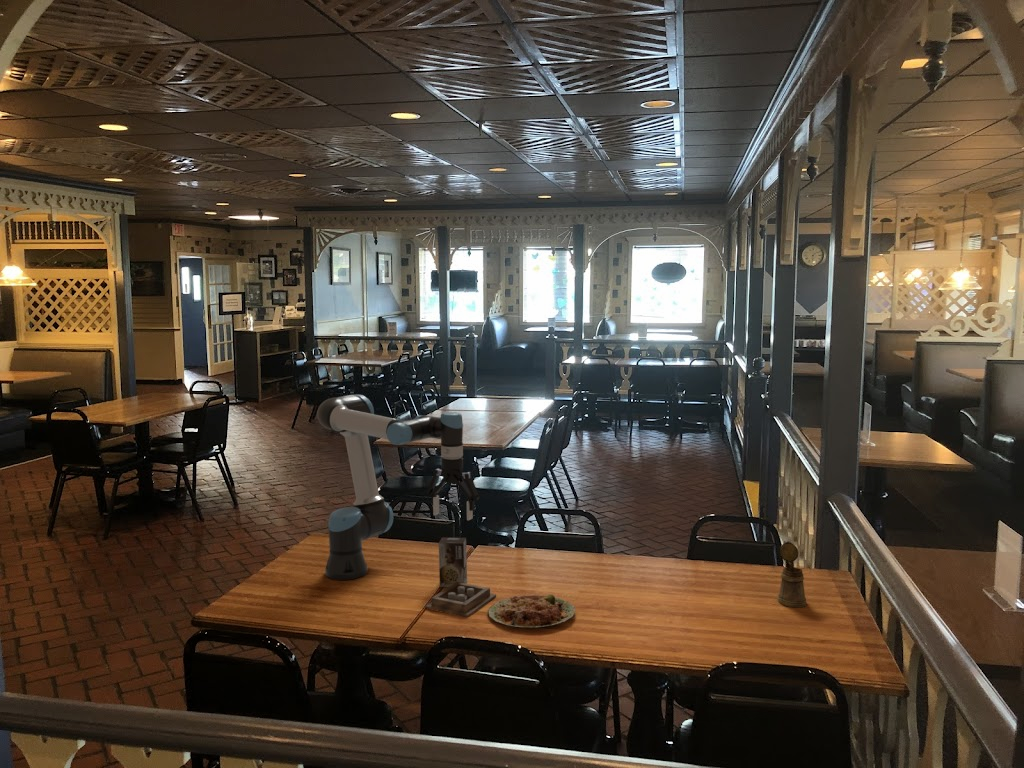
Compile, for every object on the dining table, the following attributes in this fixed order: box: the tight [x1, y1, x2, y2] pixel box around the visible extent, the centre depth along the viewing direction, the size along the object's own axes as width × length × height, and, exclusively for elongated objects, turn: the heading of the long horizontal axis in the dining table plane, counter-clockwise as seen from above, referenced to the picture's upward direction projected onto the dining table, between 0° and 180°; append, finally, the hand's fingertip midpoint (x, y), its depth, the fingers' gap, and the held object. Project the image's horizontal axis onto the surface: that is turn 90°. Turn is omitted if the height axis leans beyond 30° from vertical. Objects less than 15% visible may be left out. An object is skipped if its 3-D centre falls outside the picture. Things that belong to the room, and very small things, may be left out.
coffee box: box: [438, 537, 468, 588], centre depth 278 cm, size 9×6×16 cm
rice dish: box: [487, 594, 576, 628], centre depth 252 cm, size 28×28×5 cm
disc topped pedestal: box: [777, 540, 808, 608], centre depth 262 cm, size 9×14×18 cm, turn 172°
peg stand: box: [424, 582, 497, 618], centre depth 262 cm, size 16×19×4 cm
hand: (452, 517), depth 276 cm, fingers open, 13 cm apart
